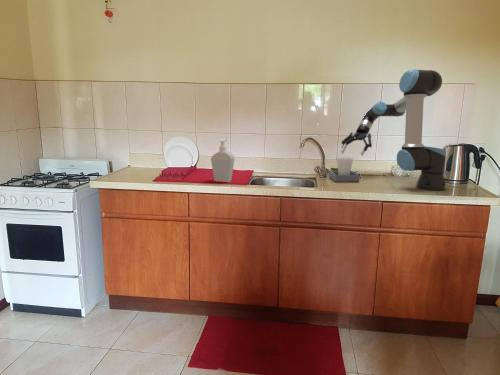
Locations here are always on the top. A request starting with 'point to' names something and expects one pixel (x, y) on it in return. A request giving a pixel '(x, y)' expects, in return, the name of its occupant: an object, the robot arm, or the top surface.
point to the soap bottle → (222, 164)
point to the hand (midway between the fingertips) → (351, 153)
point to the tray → (344, 177)
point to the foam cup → (344, 165)
